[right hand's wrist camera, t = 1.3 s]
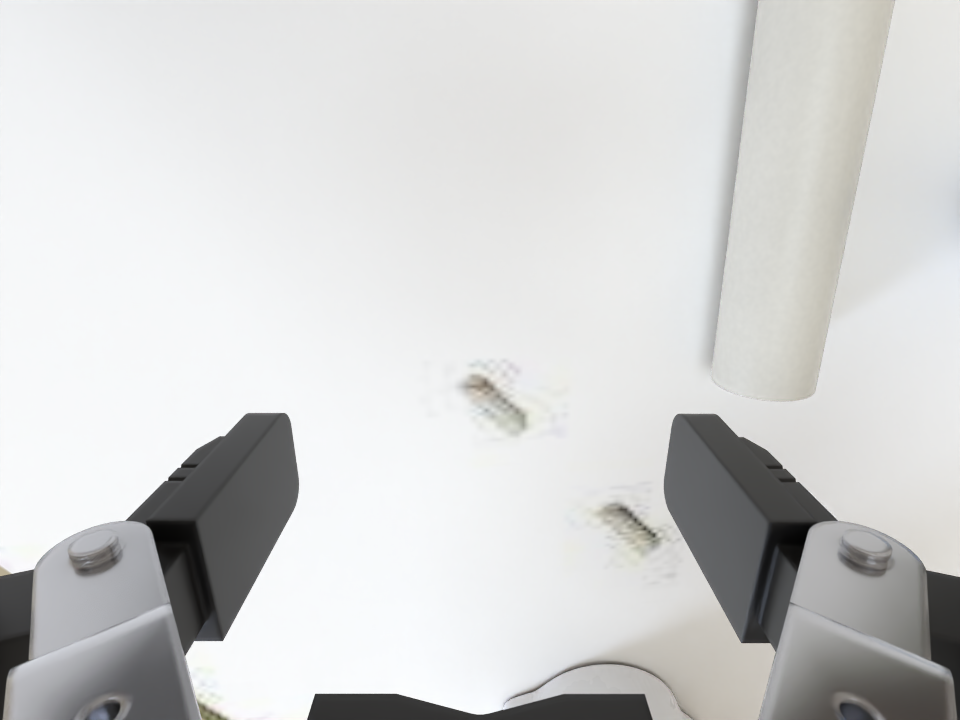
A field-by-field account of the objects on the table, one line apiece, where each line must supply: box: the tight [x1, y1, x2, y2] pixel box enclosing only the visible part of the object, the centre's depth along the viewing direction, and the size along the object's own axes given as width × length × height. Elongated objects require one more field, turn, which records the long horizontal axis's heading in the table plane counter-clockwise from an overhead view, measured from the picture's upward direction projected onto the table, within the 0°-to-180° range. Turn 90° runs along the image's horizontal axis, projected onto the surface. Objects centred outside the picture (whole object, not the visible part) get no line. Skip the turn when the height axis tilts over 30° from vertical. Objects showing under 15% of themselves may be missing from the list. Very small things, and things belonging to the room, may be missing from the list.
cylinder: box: [711, 0, 895, 401], centre depth 30 cm, size 26×6×6 cm, turn 2°
